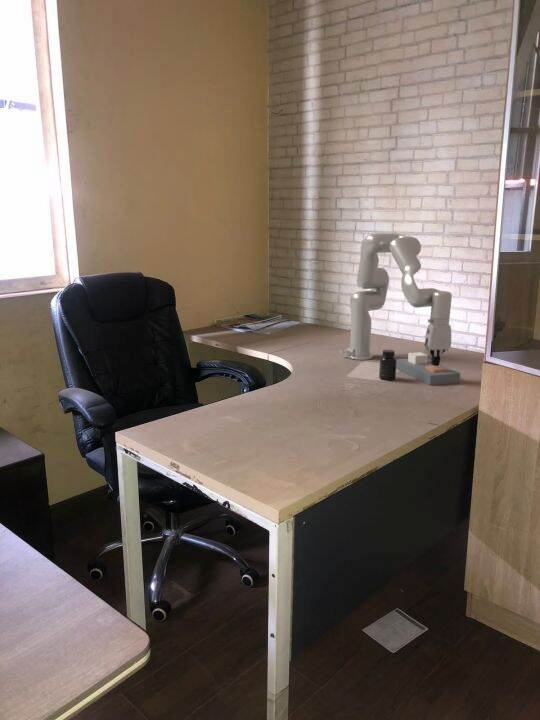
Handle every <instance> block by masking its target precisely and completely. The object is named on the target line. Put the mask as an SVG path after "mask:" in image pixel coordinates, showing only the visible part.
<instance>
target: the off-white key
mask: <svg viewBox="0 0 540 720" xmlns="http://www.w3.org/2000/svg"><path fill="white" fill-rule="evenodd" d="M428 356H429V355H428V354H427V353H423V352H422V351H421V352H420V351H418V352H408V355H407V359H408V362H410V363H413V364H427V361H428V360H429V357H428Z"/></svg>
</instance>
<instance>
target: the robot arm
mask: <svg viewBox="0 0 540 720" xmlns="http://www.w3.org/2000/svg"><path fill="white" fill-rule="evenodd" d="M421 250H422V245H421V242H420V241H419V239H418V238H416V237H413V236H409V235H406V234H400V233H395V232H394V233H389V232H388V233H387V232H386V233H381V232H380V233H371V234H367V236H364V238H363V240H362V241H361V245H360V259H359V264H358V269H357V276H356V285H357V286H358V288H359V289H363V290H359V291H356V292H353V294H352V295H351V296H350V297H349V306H350V317H351V319H350V336H349V337H350V339H349V346H348V347H347V348H346V349H340V354H342V355H343V354H345V357H346V358H348V359H351V360H357V361H359V360H360V361H363V360H371V359H373V357H374V356H373V354H372V353H370V352H371V340H372V339H371V338H372V318H371V315H370V312H371V311H378V310H380V309H382V308H383V307H384V305H385V303H386V299H387V294H388V288H389V282H390V277H389V273H388V271H387V270H386V269H385V268H383V267H379V263H380V259H379V256H378V254H379V253H380V254H382V253H383V254H387V253H388V254H389V253H391V255H392V257H393V259H394V260H395V262H396V265H397V266H398V269H399V270H400V272H401V279H400V280H401V290H402V294H403V295H404V297H405V299H406V301H407V302H408V304H409V305H410V306H411V307H414V308H416V309H417V308H419V309H420V308H428V307H429V308H430V307H431V308H430V317H429V319H427V323H429V324H428V325H427V328H426V331H425V337H424V338H425V339H424V352H426V353H429V354H430V355H431V360H430V361H431V364H432V365H434V366H439V364H440V362H441V357H442V355H443V354H444V353H445V352H448V351H449V350H450V349H451V347H452V327H451V324H450V317H451V310H452V309H451V307H452V299H453V298H452V297H453V294H452V293H451V292H450V291H447V290H446V291H445V290H440V289H437V288H433V287H431V288H430V287H427V288H419V287H418V285H417V283H416V282H415V278H414V275H415V274H417V273H418V272H419V271H420V270H421V268H422V264H421V262H420V260H419V258H418V257H417V256H418V255H420V253H421Z"/></svg>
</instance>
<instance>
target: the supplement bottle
mask: <svg viewBox="0 0 540 720" xmlns="http://www.w3.org/2000/svg"><path fill="white" fill-rule="evenodd" d="M395 354H396V353H395V350H393V349H383V350H382V356H380V358H379V370H378V371H379V374H378V377H379V380H381V381H385V380H386V381H388V382H389V381H390V382H391V381H394V380H396V377H397V369H396V364H397V358H396V357H395ZM386 381H385V382H386Z"/></svg>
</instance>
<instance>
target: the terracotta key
mask: <svg viewBox="0 0 540 720" xmlns="http://www.w3.org/2000/svg"><path fill="white" fill-rule="evenodd" d="M425 369H426V370H428V371H430V372H433V373H436V372H446V368H443V367H441V366H426V368H425Z"/></svg>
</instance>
